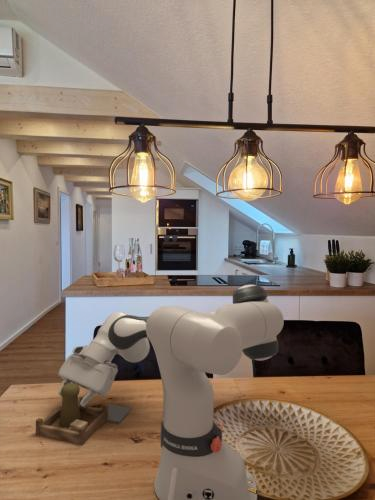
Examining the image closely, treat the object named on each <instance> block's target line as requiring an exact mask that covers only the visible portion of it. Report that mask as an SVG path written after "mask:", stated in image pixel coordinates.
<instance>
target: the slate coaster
mask: <svg viewBox="0 0 375 500" xmlns="http://www.w3.org/2000/svg"><path fill="white" fill-rule="evenodd" d="M107 405H108V417H107V418H105V421H104V422H109V423H115V424H119V425H120V424H121V423H122V422H123V420H124V419H125V418H126V416H127V415H128V414H129V413H130V412H131V411H132V407H129V406H128V407H127V406H123V405H122V406H121V405H116V404H110V403H108V404H107ZM97 417H98V416H96V417H95V418H94V420H95V419H96V418H97Z"/></svg>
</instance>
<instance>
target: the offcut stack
mask: <svg viewBox="0 0 375 500" xmlns="http://www.w3.org/2000/svg"><path fill="white" fill-rule="evenodd" d="M88 426H89V425H88V421H85V420H82V419H81V420H78V419H77V420H75V421H74V422H73V423H71V424H70V428H68V430H73V431H77V432H79V429H80V428H81V427H86V428H87V427H88Z"/></svg>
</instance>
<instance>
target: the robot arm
mask: <svg viewBox="0 0 375 500" xmlns="http://www.w3.org/2000/svg"><path fill="white" fill-rule="evenodd" d="M284 321H285V319H284V315H283V313H282V311H281V309H280V308H279V307H278V306H277V305H275V304H274V303H271V302H269V299H268V294H267V292H266V290H265V288H264V287H262V286H260V285H257V284H244V285H242V286H241V287H239V288H237V289H235V290H234V292H233V293H232V303H231V304H225V305H222V306H220V307H219V308H217V310H215V311H209V312H199V311H194V310H192V309H188V308H185V307H182V306H178V305H169V306H168V305H165V306H160V307H157V308H156V309H154V310H153V311H152V312H151V313H150V315H149V316H137V315H130V314H127V313H125V312H122V311H115V312H112V313H111V314H110V315H109V316H108V317H107V318H106V319H105V320H104V322H103V323H102V325H101V326H100V328H98V330H97V334H96V336H95V337H94V338H93V339H92V340H91V341H90V342H89V344H87V345H81V346H79V345H78V346H75V347H74V348H73V349H72V352H71V353H72V354H70V355H69V356H68V357H67V358H66V359H65V361H64V362H63V363H62V365H61V367H60V368H59V370H58V376H59V377H60V378H61V379H63V380H62V382H61V387H60V390H59V391H58V393H57V394H58V395H59V396H60V397H62V396H61V389H62V387H63V386H64V385H66V384H69V383H75V384H77V385H78V386H79V387H81V388H84V389H86V390H87V391H86V393H87V394H86V395H85V396H83V397H80V399H79V400H78V404H79V405H81V406H83V407H85V406H87V404H88V402H90V401H91V400H92V399H94V398H95V396H96V394H98V395H99V396H102V397H105V396H106V395H107V394H108V393H109V392H110V390H111V388H112V385H113V383H114V381H115V378H116V376H117V373H119V368H118V364H117V363H115V362H113V363H112V361H113V359H114V357H115V356H116V355H119V356H120V357H122V359H124V360H125V361H127V362H129V363H132V364H133V363H135V364H136V363H137V364H138V363H140V362H142V361H143V360H145V359H147V357H148V355H149V353H150V349H151V346H152V347H153V350H154V353H155V357H156V360H157V365H158V369H159V373H160V378H161V383H162V390H163V391H162V393H163V397H162V399H163V401H162V402H163V410H162V411H163V412H162V413H163V415H162V417H163V418H162V421H161V422H160V434H159V435H160V436H159V441H160V448H161V452H160V457H159V458H160V459H159V465H158V469H157V474H156V476H155V479H154V484H153V488H154V492H155V495H156V496H157V498H158V499H159V500H258V493H257V494H254V493H252V492H249V491H248V487H249V488H253V489H256V490H257V491H258V487H257V483H256V480H255V478H254V476H253V475H252V473H251V472H249V471H247V469H246V465H245V462H244V459H243V457H242V455H241V454H240V453H239V452H238V451H236V450H235V449H234V448H233V447H231V446H230V445H229V444H228V443H226V441H225V440H223V423H222V422H221V423H220V425H217V424H216V422H215V421H214V410H215V409H214V407H215V406H214V405H215V402H214V401H215V394H214V393H215V392H214V391H215V390H214V388H213V384H212V382H211V381H210V379H209V377H208V376H207V374H213V375H218V376H224V375H227V374H229V373H231V372H232V371H233V370H234V369H235V368H236V367H237V366H238V364H239V363H240V360H241V359H242V355H243V354H244V356H246V357H247V358H249V359H250V360H254V361H265V360H268V359H271V358H272V357H273V356H276V355H277V353H278V352H279V340H278V339H277V336H278V335H279V334H280V333H281V332H282V330H283V328H284ZM150 343H151V345H150ZM206 373H207V374H206ZM247 481H248V482H249V481H252V482H253V483H248V482H247Z"/></svg>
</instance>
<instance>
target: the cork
mask: <svg viewBox="0 0 375 500" xmlns="http://www.w3.org/2000/svg"><path fill="white" fill-rule="evenodd" d="M60 389H61V388H60ZM79 394H80V386H79V385H77V384H75V383H72V382H71V383H69V384H66V385H64V386H63V387H62V389H61V396H60V397H61V398H62V402H61V405H60V407H61V413H60V418H59V419H58V420H59V421H58V425H59V427H60V428H63V429H69V428H70V424H71V423H73V422H74V421H75V420H77V419H78V420H82V418H81V415H80V411H79V404H78V402H79V397H78V396H79Z"/></svg>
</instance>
